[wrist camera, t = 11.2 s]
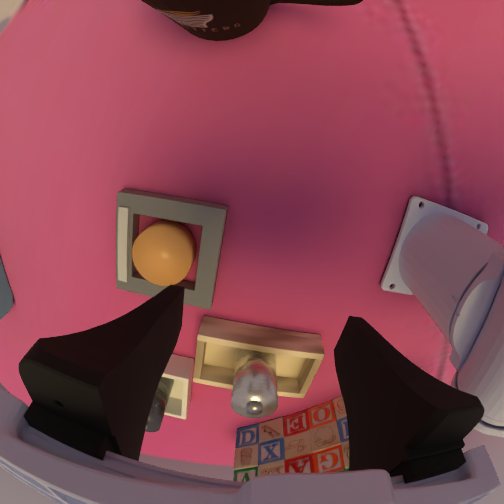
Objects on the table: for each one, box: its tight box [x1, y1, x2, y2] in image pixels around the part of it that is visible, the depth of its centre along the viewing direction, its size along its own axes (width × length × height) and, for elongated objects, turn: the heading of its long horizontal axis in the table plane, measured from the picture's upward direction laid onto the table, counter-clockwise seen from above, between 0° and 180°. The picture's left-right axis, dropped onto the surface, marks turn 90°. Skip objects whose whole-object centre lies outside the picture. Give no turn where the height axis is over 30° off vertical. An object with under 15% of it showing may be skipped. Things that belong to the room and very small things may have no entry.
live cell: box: [231, 348, 278, 418], centre depth 22 cm, size 3×3×6 cm
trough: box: [193, 316, 325, 398], centre depth 24 cm, size 10×6×3 cm, turn 79°
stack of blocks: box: [233, 396, 349, 482], centre depth 24 cm, size 21×6×12 cm, turn 119°
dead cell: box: [145, 377, 174, 432], centre depth 24 cm, size 3×3×6 cm
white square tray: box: [162, 354, 194, 419], centre depth 26 cm, size 7×7×3 cm
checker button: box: [132, 220, 196, 286], centre depth 21 cm, size 4×4×2 cm
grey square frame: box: [116, 189, 228, 309], centre depth 21 cm, size 8×8×2 cm
